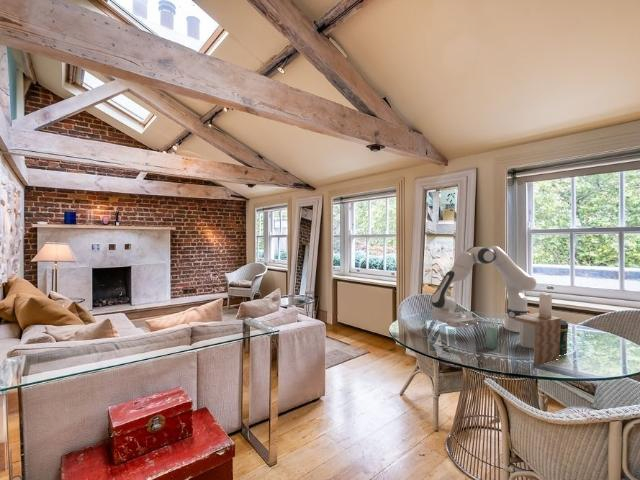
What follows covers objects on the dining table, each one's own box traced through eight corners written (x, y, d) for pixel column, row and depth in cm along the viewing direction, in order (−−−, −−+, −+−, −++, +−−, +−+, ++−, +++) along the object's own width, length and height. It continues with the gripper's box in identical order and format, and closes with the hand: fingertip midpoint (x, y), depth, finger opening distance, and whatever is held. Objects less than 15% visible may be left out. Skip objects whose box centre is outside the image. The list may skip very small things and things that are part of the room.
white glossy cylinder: (542, 314, 172) (543, 292, 172) (553, 317, 167) (554, 294, 167) (536, 316, 170) (537, 293, 169) (547, 318, 165) (548, 295, 165)
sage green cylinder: (489, 345, 186) (490, 325, 185) (498, 348, 181) (499, 327, 181) (483, 346, 183) (484, 326, 183) (492, 350, 179) (493, 329, 178)
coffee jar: (561, 357, 169) (562, 323, 168) (544, 352, 176) (546, 319, 175) (569, 354, 174) (571, 321, 174) (552, 349, 181) (554, 317, 180)
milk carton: (532, 344, 188) (534, 313, 188) (536, 348, 182) (538, 316, 181) (519, 343, 191) (520, 311, 190) (522, 347, 184) (523, 314, 183)
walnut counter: (535, 351, 178) (536, 312, 177) (559, 359, 167) (560, 318, 166) (513, 357, 169) (514, 316, 168) (536, 366, 158) (538, 322, 157)
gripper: (442, 315, 200) (460, 321, 188) (464, 313, 209) (483, 318, 197) (441, 325, 200) (460, 332, 188) (464, 322, 210) (483, 328, 197)
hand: (472, 325), depth 193 cm, fingers open, 8 cm apart
